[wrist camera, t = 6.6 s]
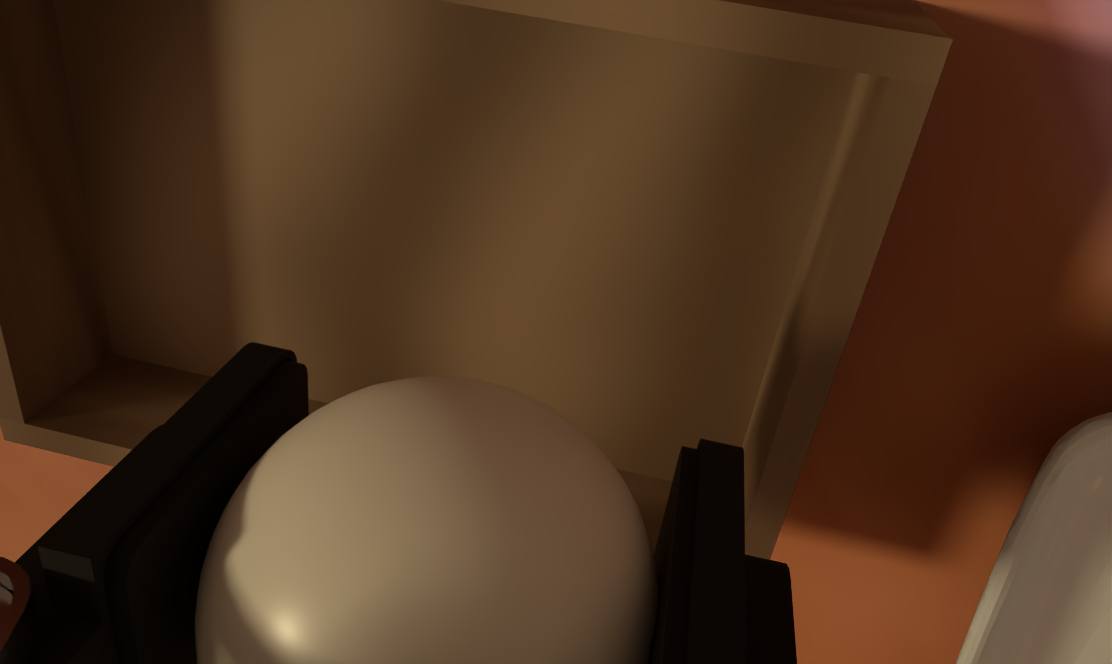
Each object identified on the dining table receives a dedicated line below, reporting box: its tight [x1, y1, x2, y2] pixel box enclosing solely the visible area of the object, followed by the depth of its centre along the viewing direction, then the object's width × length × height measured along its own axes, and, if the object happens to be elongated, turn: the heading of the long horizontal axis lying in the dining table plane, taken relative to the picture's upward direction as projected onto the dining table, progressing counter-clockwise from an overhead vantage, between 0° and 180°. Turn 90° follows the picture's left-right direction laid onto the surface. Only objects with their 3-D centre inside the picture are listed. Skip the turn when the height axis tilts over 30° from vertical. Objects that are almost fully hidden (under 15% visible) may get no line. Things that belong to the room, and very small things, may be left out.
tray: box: [0, 0, 953, 560], centre depth 16 cm, size 16×11×4 cm
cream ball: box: [195, 376, 659, 664], centre depth 10 cm, size 5×5×5 cm
